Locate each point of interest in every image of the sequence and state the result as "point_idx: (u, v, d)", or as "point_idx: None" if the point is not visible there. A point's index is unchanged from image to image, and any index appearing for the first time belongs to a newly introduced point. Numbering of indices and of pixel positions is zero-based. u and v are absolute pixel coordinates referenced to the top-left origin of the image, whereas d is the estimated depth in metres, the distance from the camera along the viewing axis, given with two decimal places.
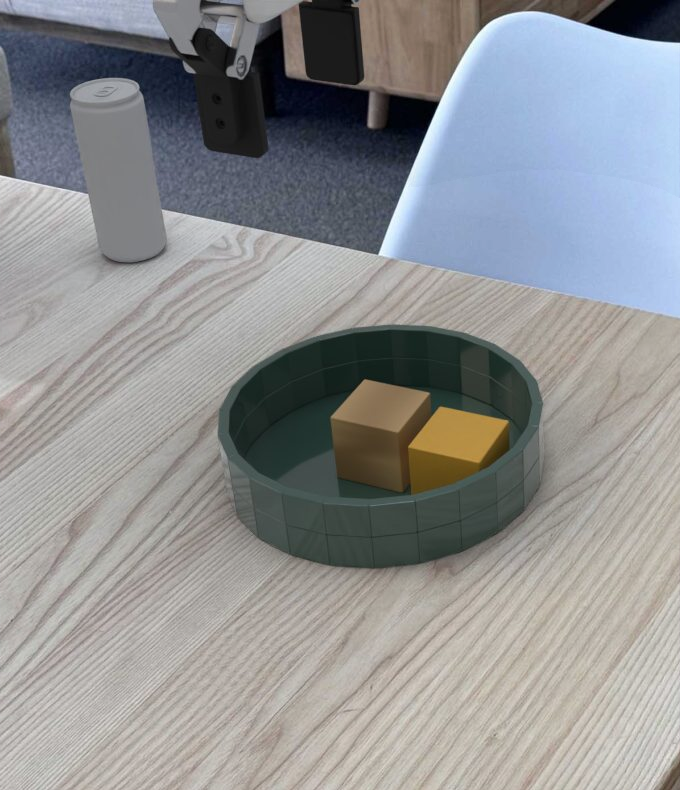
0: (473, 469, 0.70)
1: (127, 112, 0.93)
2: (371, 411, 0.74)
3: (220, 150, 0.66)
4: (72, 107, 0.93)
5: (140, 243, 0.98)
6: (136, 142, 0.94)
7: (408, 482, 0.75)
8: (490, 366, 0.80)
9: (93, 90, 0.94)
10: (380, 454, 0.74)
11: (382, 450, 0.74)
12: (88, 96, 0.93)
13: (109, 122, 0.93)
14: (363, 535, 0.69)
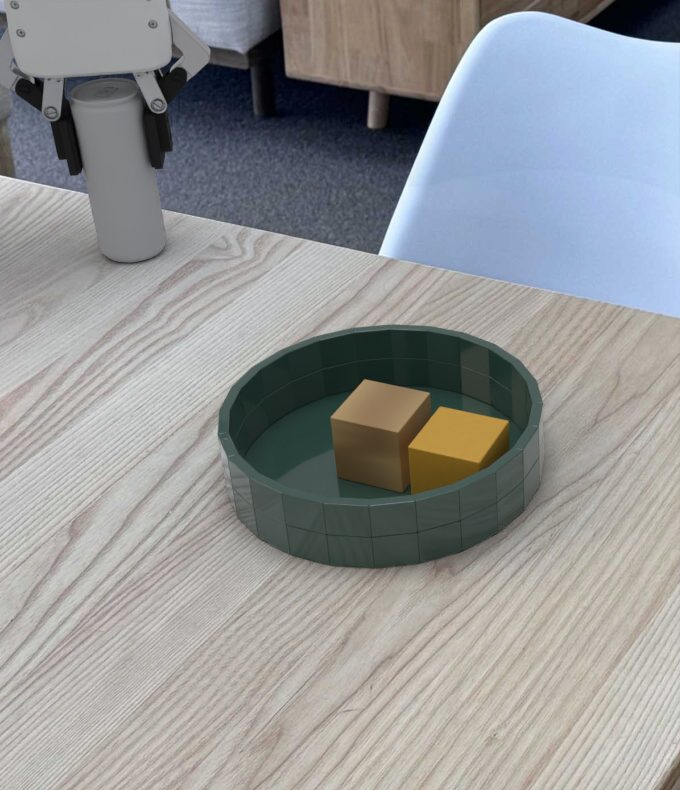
0: (473, 469, 0.70)
1: (128, 112, 0.93)
2: (371, 411, 0.74)
3: None
4: (72, 107, 0.93)
5: (140, 243, 0.98)
6: (136, 142, 0.94)
7: (408, 482, 0.75)
8: (490, 366, 0.80)
9: (93, 90, 0.94)
10: (380, 454, 0.74)
11: (382, 450, 0.74)
12: (88, 96, 0.93)
13: (109, 121, 0.93)
14: (363, 535, 0.69)
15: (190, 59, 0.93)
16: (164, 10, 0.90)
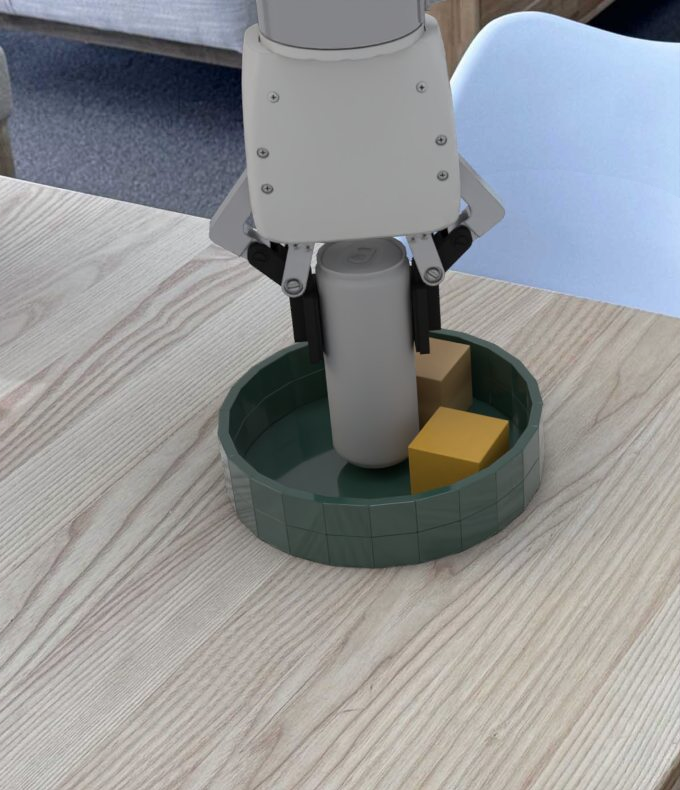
0: (473, 469, 0.70)
1: (395, 285, 0.70)
2: None
3: None
4: (320, 277, 0.70)
5: (393, 446, 0.74)
6: (401, 321, 0.71)
7: None
8: (490, 366, 0.80)
9: (344, 252, 0.71)
10: (423, 402, 0.78)
11: (425, 398, 0.78)
12: (341, 262, 0.70)
13: (372, 298, 0.69)
14: (363, 535, 0.69)
15: (479, 216, 0.70)
16: (457, 156, 0.67)
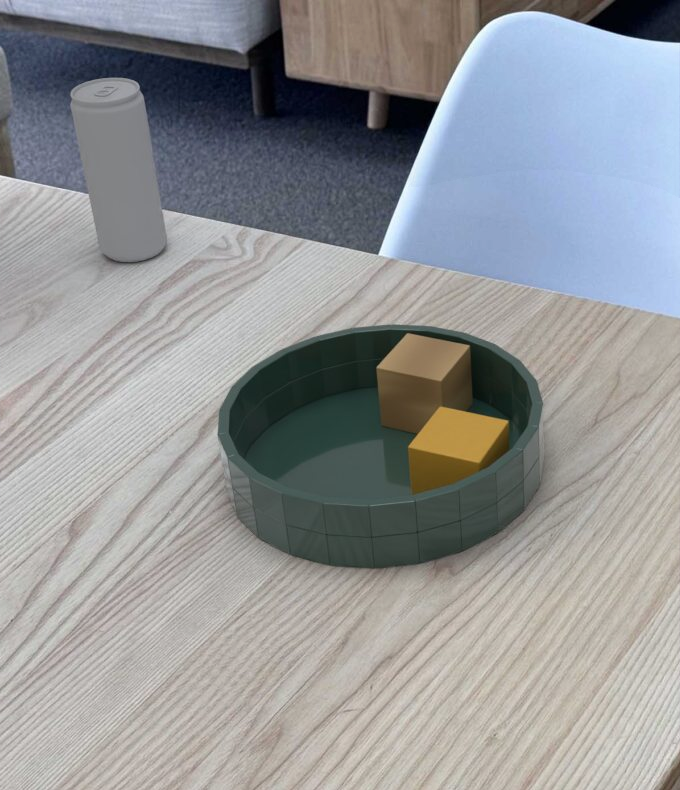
0: (473, 469, 0.70)
1: (128, 112, 0.93)
2: (414, 361, 0.78)
3: None
4: (72, 107, 0.93)
5: (140, 243, 0.98)
6: (137, 142, 0.94)
7: None
8: (490, 366, 0.80)
9: (93, 89, 0.94)
10: (423, 402, 0.78)
11: (425, 398, 0.78)
12: (88, 95, 0.93)
13: (109, 121, 0.93)
14: (363, 535, 0.69)
15: None
16: None
